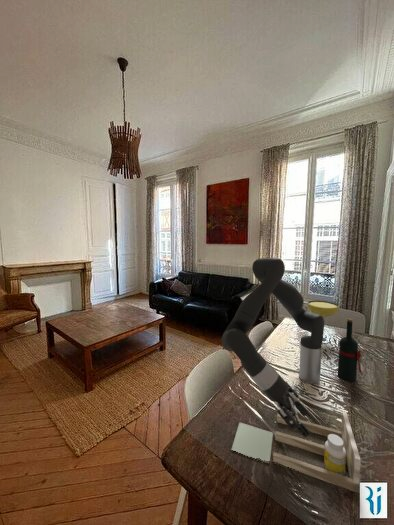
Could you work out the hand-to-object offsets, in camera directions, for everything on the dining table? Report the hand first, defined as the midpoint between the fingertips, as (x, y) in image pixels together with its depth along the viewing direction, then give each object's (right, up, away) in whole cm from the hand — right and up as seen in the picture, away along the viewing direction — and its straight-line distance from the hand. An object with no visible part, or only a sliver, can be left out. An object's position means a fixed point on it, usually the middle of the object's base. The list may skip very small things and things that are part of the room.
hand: (307, 424), depth 69 cm
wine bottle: (+41, -8, +41) cm, 59 cm away
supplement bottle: (+7, -12, -2) cm, 14 cm away
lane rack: (+3, -12, +4) cm, 13 cm away
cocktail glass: (+51, -3, +84) cm, 98 cm away
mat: (-15, -12, +8) cm, 20 cm away
